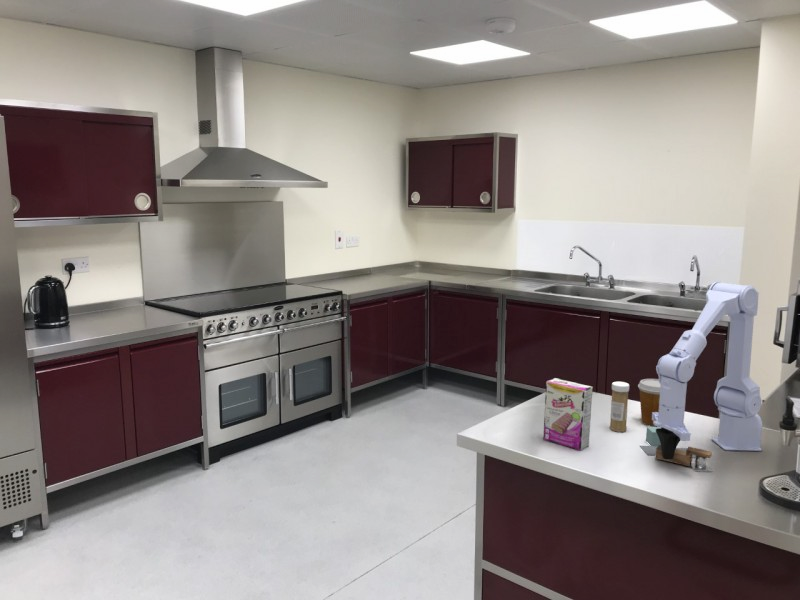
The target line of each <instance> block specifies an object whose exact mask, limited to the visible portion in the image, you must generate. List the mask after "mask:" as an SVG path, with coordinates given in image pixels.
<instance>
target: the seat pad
mask: <svg viewBox="0 0 800 600" xmlns="http://www.w3.org/2000/svg"><path fill="white" fill-rule="evenodd" d="M657 447H658V446H650V445H639V448H640V449H642V451H643V452H644V453H645V454H646V455H647V456H655V457H656V448H657Z"/></svg>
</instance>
